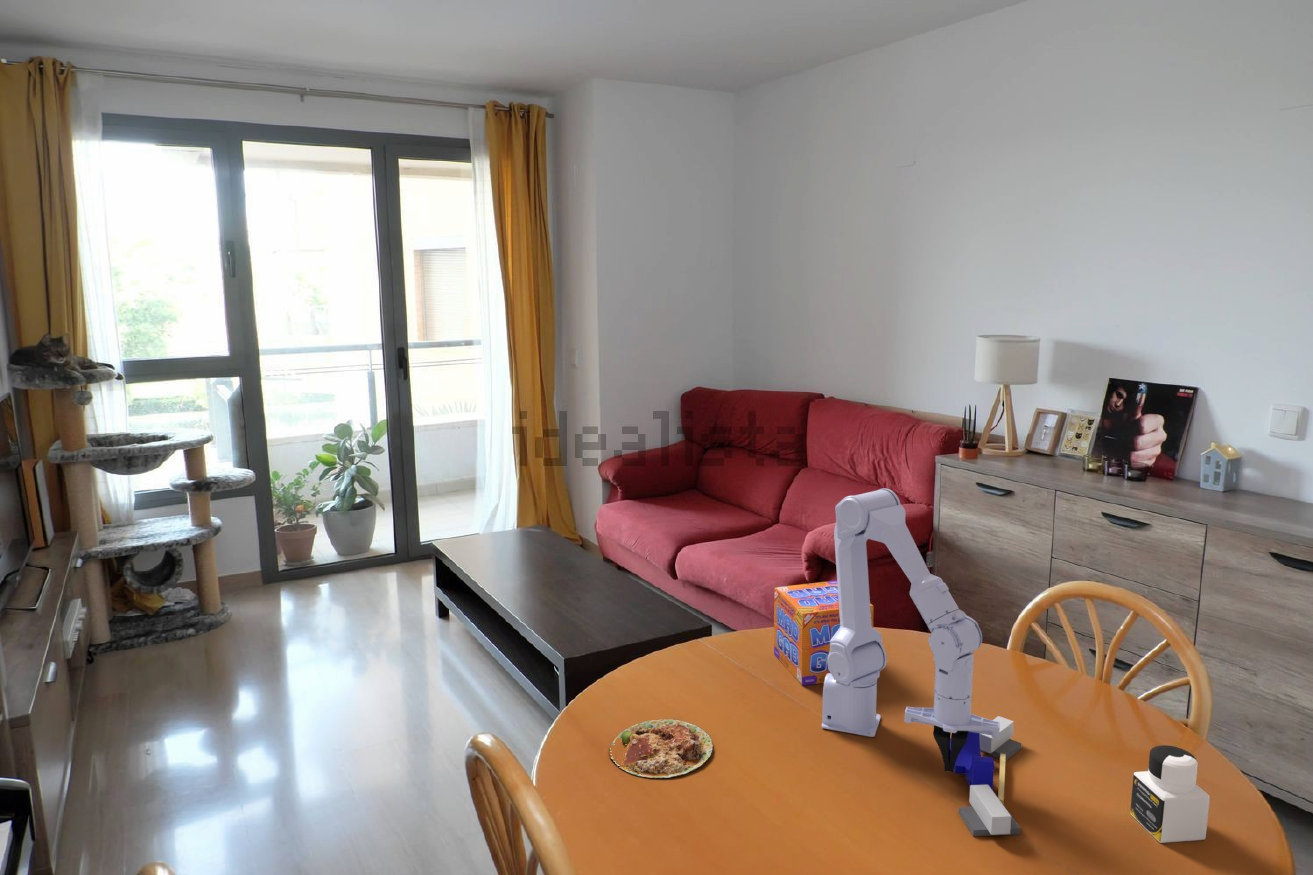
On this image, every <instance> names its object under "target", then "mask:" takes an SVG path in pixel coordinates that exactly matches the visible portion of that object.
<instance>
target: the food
mask: <svg viewBox="0 0 1313 875" xmlns="http://www.w3.org/2000/svg"><path fill="white" fill-rule="evenodd" d="M651 728H652V729H651ZM631 731H635V733H632V732H631ZM614 738H615V739H614ZM614 738H613V740H612V741H611V743H610V746H611V745H615V744H614V743H615V741H616V740H617V738H622V742H623V744H624V743H625V744H627V745H626V749H627V748H628V749H627V753H625V752H624V753H625V756H624V758H625V759H624V758H623V762H624V764H622V765H623V766H624V768H623V767H618V766H620V765H619V764H617V763H616V761H612V762H613V763H614V762H615V764H614V765H615V766H617V767H618V768H619V769H621V770H623V771H624V772H626V773H627V774H631V775H633V776H638V777H641V778H643V777H644V778H647V779H670V778H674V777H679V776H682V775H685V774H688V773H690V772H693V771H694V770H696V769H698V768H699V767H702V766H703V765H704V763H705V762H707V761H708V759H709V758H710V757H711V755H712V753H713V746H714V745H713V742H712V738H711V735H709V734H708V732H707V731H706V730H704V729H702V728H701V727H699V726H697V725H695V724H694V723H691V722H687V721H683V720H680V719H676V718H674V719H666V718H665V719H663V718H662V719H650V720H645V721H642V722H638V723H636V724H634V725H631V726H629V727H627V728H625V729H624V730H623V731H621V732H620V733H618V735H616V737H614ZM622 742H621V743H622ZM625 744H624V745H625ZM609 748H610V747H609ZM609 748H608V753H609V752H612V750H611V748H610V749H609ZM610 750H611V751H610ZM610 755H612V754H610ZM610 755H609V756H610ZM611 759H614V758H613V756H612V757H611V758H610V760H611ZM698 759H699V760H698ZM687 760H688V761H691V760H698V762H697V763H696V764H694V765H693V764H692V763H687ZM626 768H630V770H632V771H633V770H634V771H633V772H632V771H629V770H628V769H626ZM635 771H637V772H635ZM637 773H648V774H649V773H653V774H658V773H660V774H661V773H666V774H667V775H656V776H655V775H648V774H642V775H641V774H637Z"/></svg>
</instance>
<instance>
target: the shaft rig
mask: <svg viewBox="0 0 1313 875" xmlns="http://www.w3.org/2000/svg"><path fill="white" fill-rule="evenodd" d="M992 720H993V721H997V722H1000V730H999V739H998V738H993V737H992V735H986V734H980V733H979V739H980V751H981V752H983V753H985V752H986V753H985V754H987V753H988V754H987V755H990V756H991V757H995V758H998V759H999V777H998V794H997V795H996V793H995V792H994V791H992V789H991V788H990V786H989V785H970V787H969V801H968V802H969V804H970V805H971V806H959V807H958V814H959V816H960V818H961V819H962V822H963V823H964V824H965V826H966V827H967V829H968V830H969V832H970V834H971V835H972V836H973V837H984V836H985V837H986V836H989V837H990V836H1006V835H1007V836H1009V835H1010V836H1011V835H1012V836H1013V835H1021V826H1020V825H1019V824H1018V822H1017V821H1016V820H1015V818H1014V817H1013V816H1012V814H1011V812H1010V811H1009V810H1008V809H1007V807H1006V806H1005V804H1004V799H1005V781H1006V780H1005V779H1006V778H1005V777H1006V762H1007V761H1008V760H1009V759H1011V758H1012V757H1013V756H1014V755H1015V754H1017V753H1018V752H1019V751H1020V750H1022V743H1021V742H1019V741H1016V740H1013V739H1012V738H1013V737H1014V727H1015V726H1014V724H1015V721H1014V720H1011V719H1008V718H1005V717H1002V716H1000V715H997V716H996V717H995V718H994V719H992ZM1016 752H1017V753H1016Z"/></svg>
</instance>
